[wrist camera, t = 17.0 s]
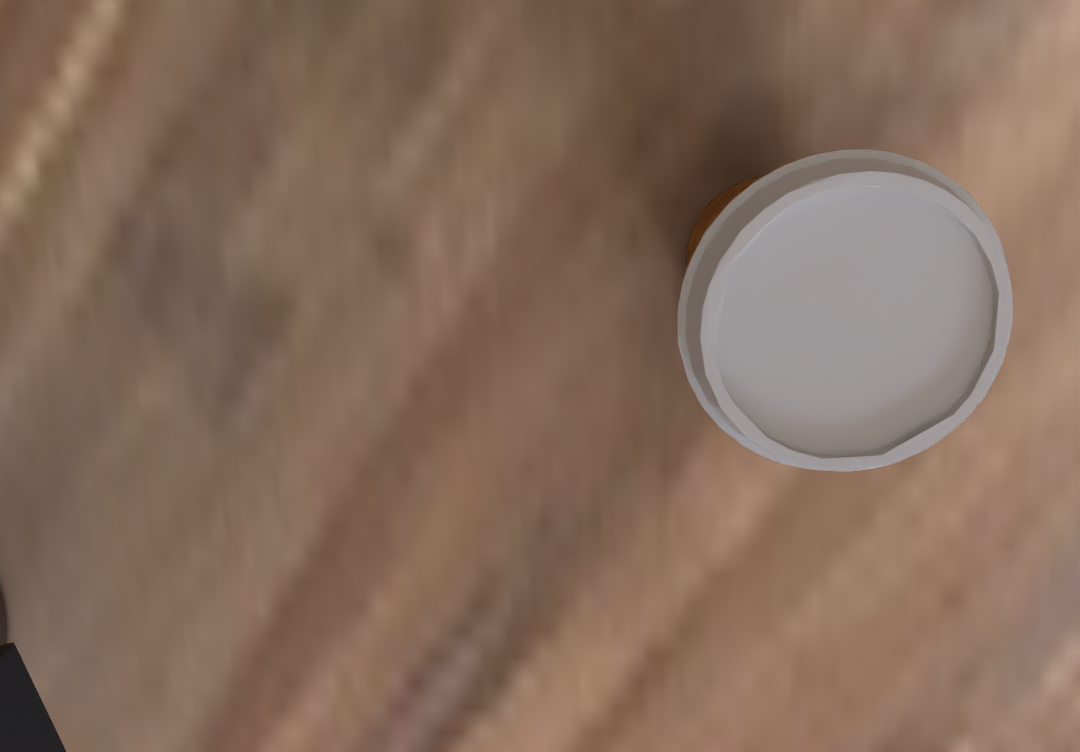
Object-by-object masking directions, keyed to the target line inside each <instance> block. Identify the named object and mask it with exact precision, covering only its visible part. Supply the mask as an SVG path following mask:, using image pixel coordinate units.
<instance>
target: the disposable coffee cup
mask: <svg viewBox="0 0 1080 752" xmlns="http://www.w3.org/2000/svg"><path fill="white" fill-rule="evenodd" d="M686 264H687V269H686V272H685V275H684V279H683V283H682V288H681V293H680V297H679V302H678V333H677V338H678V345H679V349H680V352H681V356H682V360H683V364H684V368H685V372H686V376H687V379H688V381H689V383H690V385H691V387H692V389H693V391H694V392H695V394H696V396H697V398H698V400H699V402H700V403H701V405H702V407H703V408H704V409H705V410H706V412H707V413H708V414H709V415H710V416H711V418H712V419H713V420H714V421H715V422H716V424H717V425H718V426H719V427H720V429H722V430H723V431H724V432H726V433H727V434H728V435H730V436H731V437H732V438H734V439H735V440H736V441H738V442H739V443H740V444H742V445H743V446H744V447H745V448H747V449H749V450H751V451H753V452H755V453H757V454H760V455H762V456H764V457H766V458H768V459H770V460H772V461H775V462H777V463H782V464H786V465H791V466H796V467H800V468H805V469H810V470H827V471H843V472H848V471H856V470H864V469H872V468H876V467H881V466H885V465H889V464H894V463H897V462H899V461H901V460H903V459H906V458H908V457H910V456H913V455H915V454H917V453H919V452H922V451H924V450H926V449H927V448H929V447H930V446H932V445H933V444H935V443H936V442H938V441H939V440H941V439H942V438H944V437H945V436H947V435H948V434H950V433H951V432H952V431H953V430H954V429H955V428H956V427H957V426H958V425H960V424H961V423H962V422H963V421H964V420H965V419H966V418H967V417H968V416H969V415H970V414H971V413H972V411H973V410H974V409H975V408H976V406H977V405H978V404H979V403H980V401H981V400H982V399H983V398H984V396H985V395H986V393H987V391H988V389H989V388H990V386H991V384H992V382H993V381H994V379H995V377H996V375H997V374H998V372H999V370H1000V369H1001V366H1002V363H1003V359H1004V356H1005V352H1006V349H1007V345H1008V342H1009V338H1010V335H1011V331H1012V316H1013V295H1012V289H1011V283H1010V277H1009V270H1008V267H1007V263H1006V259H1005V256H1004V252H1003V248H1002V244H1001V242H1000V240H999V238H998V236H997V234H996V232H995V230H994V228H993V226H992V224H991V222H990V220H989V218H988V216H987V215H986V214H985V213H984V211H983V210H982V209H981V207H980V206H979V205H978V204H977V202H976V201H975V200H974V199H973V197H972V196H971V195H970V194H969V192H967V191H966V190H965V189H963V188H962V187H961V186H960V185H958V184H957V183H956V182H955V181H953V180H952V179H951V178H949V177H948V176H947V175H946V174H944V173H943V172H941V171H939V170H937V169H935V168H933V167H931V166H929V165H927V164H925V163H924V162H921V161H918V160H915V159H912V158H909V157H906V156H903V155H900V154H896V153H892V152H884V151H876V150H839V151H833V152H827V153H821V154H816V155H813V156H810V157H806V158H803V159H800V160H797V161H794V162H791V163H788V164H785V165H784V166H782V167H780V168H778V169H776V170H774V171H772V172H771V173H769V174H767V175H765V176H764V177H762V178H755V179H750V180H747V181H744V182H742V183H739V184H736V185H734V186H732V187H731V188H729V189H727V190H726V191H724V192H723V193H721V194H719V195H718V196H717V197H716V198H715V199H714V200H713V201H711V202H710V203H709V204H708V206H707V207H706V208H705V209H704V211H703V212H702V213H701V215H700V216H699V218H698V220H697V221H696V223H695V225H694V227H693V229H692V232H691V235H690V239H689V242H688V246H687V256H686Z"/></svg>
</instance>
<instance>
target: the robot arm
mask: <svg viewBox="0 0 1080 752" xmlns="http://www.w3.org/2000/svg"><path fill="white" fill-rule="evenodd" d="M0 752H66V750H65V748H64V746H63V744H62V742H61V740H60V738H59V735H58V733H57V731H56V729H55V727H54V725H53V723H52V721H51V719H50V717H49V715H48V713H47V711H46V708H45V706H44V704H43V702H42V700H41V698H40V696H39V694H38V692H37V690H36V688H35V686H34V683H33V681H32V679H31V677H30V675H29V673H28V671H27V669H26V667H25V665H24V663H23V661H22V658H21V656H20V654H19V652H18V650H17V648H16V646H15V644H14V642H13V643H9V644H6V618H5V612H4V606H3V601H2V598H1V594H0Z"/></svg>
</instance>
